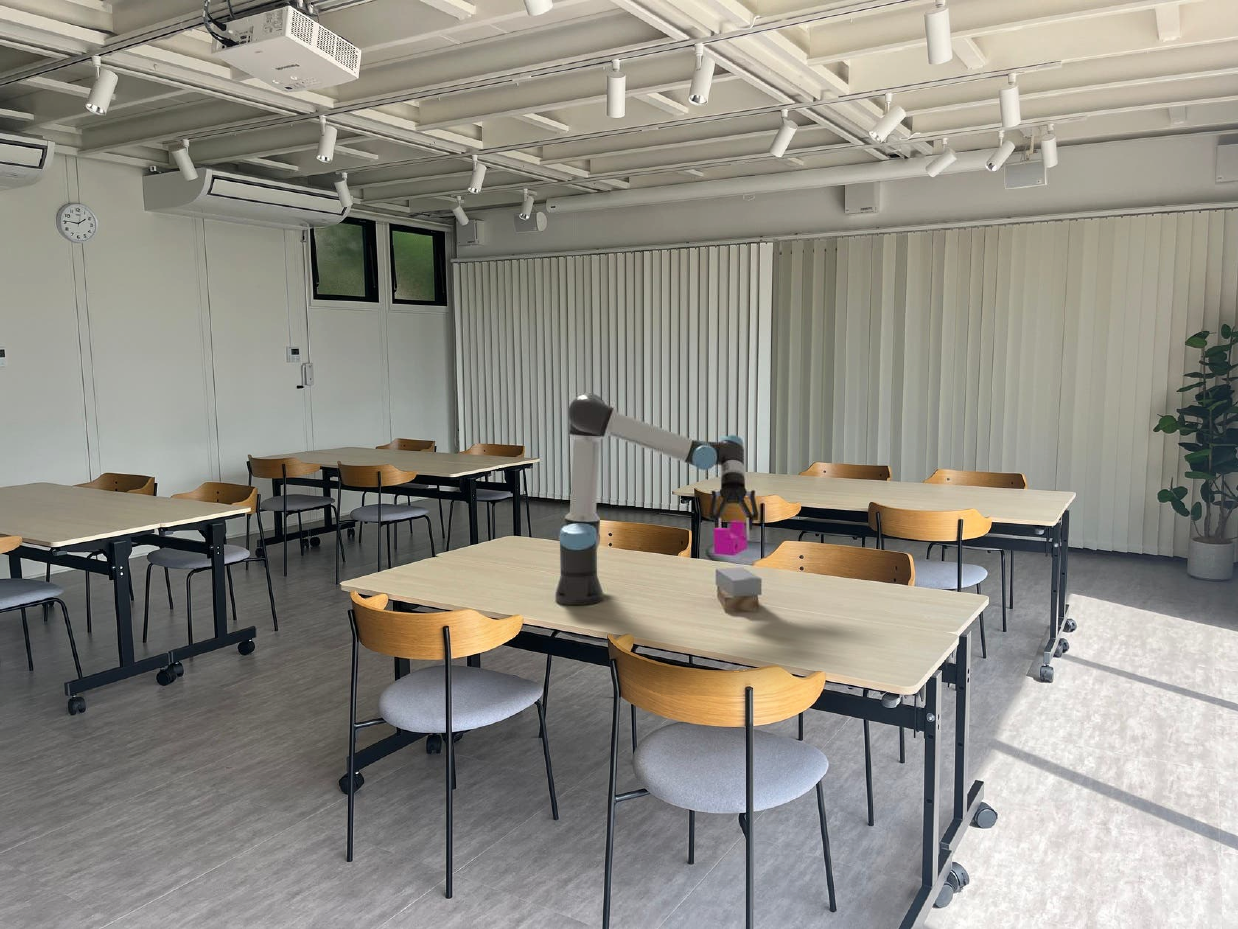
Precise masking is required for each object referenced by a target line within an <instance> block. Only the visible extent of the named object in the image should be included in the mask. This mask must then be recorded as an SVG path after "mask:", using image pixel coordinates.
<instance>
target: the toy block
mask: <svg viewBox="0 0 1238 929" xmlns="http://www.w3.org/2000/svg"><path fill="white" fill-rule="evenodd" d="M745 525H746V521H743V520H732V521H730V528H729V527H721V528H715V527H714V528H713V553H714V555H721V556H722V555H724V556H736V555H738V554H740V553H742V552H744V551H746V550H747V549H748V540H747V536H746V534H745V533H746V528H745V527H746V526H745Z"/></svg>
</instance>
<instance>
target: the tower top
mask: <svg viewBox="0 0 1238 929" xmlns="http://www.w3.org/2000/svg"><path fill="white" fill-rule="evenodd" d="M762 583H763V582H762V578H761V577H760V576H757V575H756V574H754V573H753V572H751V571H750V570H748V569H747V568H744V567H742V566H741V567H740V566H739V567H724V568H715V585H716V587H717V586H718V587H720V588H721V589H723V590H724V591H725V592H727V593H728V594H730V595H731V596H732V597H740V596H754V595H757V596H762Z"/></svg>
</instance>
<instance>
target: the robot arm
mask: <svg viewBox="0 0 1238 929" xmlns="http://www.w3.org/2000/svg"><path fill="white" fill-rule="evenodd" d="M567 412H568V414H567V416H568V419H569V434H568V435H569V436H570V437H571V438H572V439H573V445H572V446H573V447H572V467H571V485H570V505H569V512H568V513H567V514H566V515H565V517H564V526H563V527H561V528H560V531H559V536H558V541H559V555H560V556H559V558H560V559H559V560H560V565H559V569H560V576H559V580H558V584H557V587H556V591H555V594H554V595H555V596H554V597H555V602H557V603H558V604H562V605H565V606H566V605H567V606H587V605H594V604H597V603H600V602H602V601H603V600H604V592H603V588H602V586H601V582H600V579H599V577H598V548H599V545H600V542H601V535H600V530H601V529H600V528H601V527H600V526H601V518H600V516H599V515H598V514H597V498H598V496H597V495H598V480H599V466H600V464H599V463H600V462H599V461H600V447H601V446H600V445H601V444H600V443H601V440H602V439H604V438H606V437H609V436H610V437H613V438H616V439H617V440H621V441H624V442H626V443H629V444H632V445H636V446H638V447H641V448H643V449H646V450H649V451H652V452H655V453H657V454H660V455H663V456H666V457H669V458H670V459H671V458H672V459H674V460H677V461H680V462H683V463H686V464H689V465H691V466H694V467H695V468H697V469H699V470H702V471H706V470H710V469H712V468H713V467H714V466H720V478H721V479H720V489H719V491H716V490H711V491H710V492H711V502H710V508H709V513H708V518H709V521H714V529H715V528H722V515H723V513H724V511H725V509H726V508H727V507H728V505H729V504H738V506H739V507H740V508H741V509H742V512H743V513H744V515H745V517H746V518H745V519H746V521H745V525H746V526H745V527H746V528H745V532H746V537H747V541H750V531H751V530H753V529H754V524H753V522H754V521H758V520H759V512H758V506H757V503H756V498H755V497H756V491H755V490H754V489H752V490H751V491H750V490H747V489H746V478H745V476H746V475H745V470H746V469H745V447H744V441H743V439H742V437H739V436H738V435H735V434H730V435H728V436H727V435H726V436H724V437H722V438H721V440H720V441H705V440H696V439H692V438H689V437H686V436H685V435H684V436H683V435H681V434H678V433H675V432H672V431H670V430H667V429H663V428H660V427H658V426H656V425H653V424H649V423H647V422H645V421H642V420H638V419H637V418H634V417H631V416H628V415H625V414H622V413H620V412H618V411H617V409H616V408H615V407H613V406H609V405H607V404H606V402H605V401H604V400H603V399H602V397H600V396H599V395H597V394H593V393H583V394H581V395H580V394H579V395H578V396H577V397H575V398H574V399H573V400H572V401H571V403H570V404H569V407H568V410H567ZM746 496H747V498H748V499H749V500H750V505H751V510H750V508H749V507H748V505H747V503H746V502H745V498H746ZM719 497H721V498H722V501H721V503H720V505H719V507H718V509H717V511H716V505H717V500H718V499H719ZM715 511H716V513H715ZM751 511H752V512H751Z"/></svg>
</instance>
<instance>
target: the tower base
mask: <svg viewBox="0 0 1238 929" xmlns="http://www.w3.org/2000/svg"><path fill="white" fill-rule="evenodd" d="M716 587H717V588H716V592H717V593H716V594H717V595H716V597H717V600H718V601H720V602H719V604H720V603H721V604H720V605H722V606H721V607H723V608H722V609H724V610H723V611H725V612H724V613H754V612H753V611H758V612H759V595H754V596H740V597H732V596H731V595H730V594H728V593H727V592H725V591H724V590H723V589H721V588H720V587H718V586H717V585H716Z"/></svg>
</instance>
